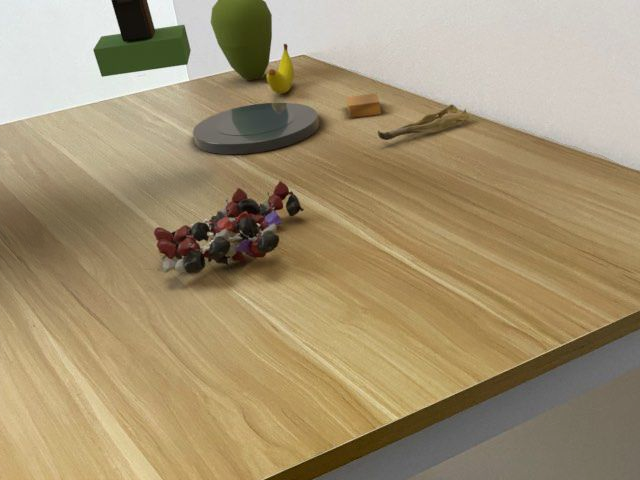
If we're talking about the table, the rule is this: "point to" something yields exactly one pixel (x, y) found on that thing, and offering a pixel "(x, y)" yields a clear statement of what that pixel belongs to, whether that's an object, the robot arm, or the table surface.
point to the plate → (256, 128)
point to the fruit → (281, 74)
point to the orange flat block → (363, 105)
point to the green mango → (244, 35)
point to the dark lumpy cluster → (227, 232)
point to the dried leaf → (428, 123)
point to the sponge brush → (143, 49)
